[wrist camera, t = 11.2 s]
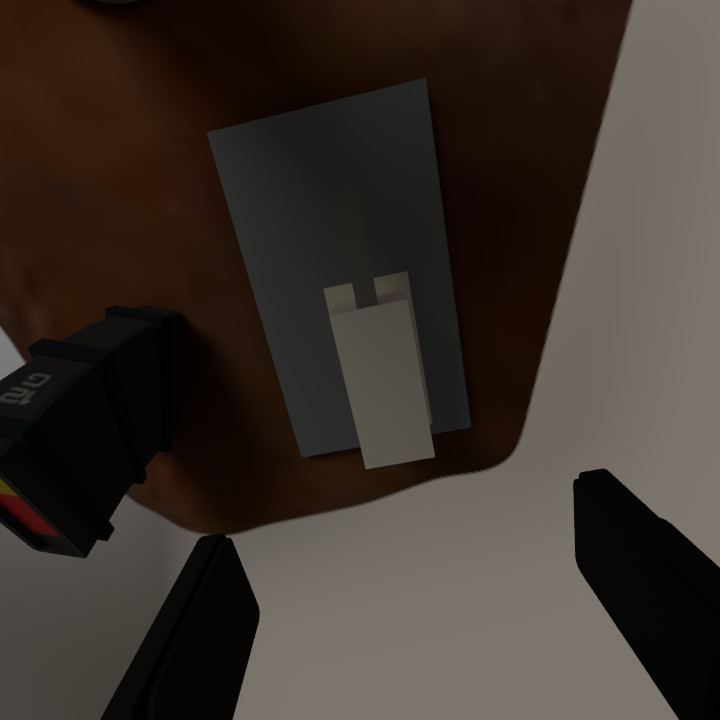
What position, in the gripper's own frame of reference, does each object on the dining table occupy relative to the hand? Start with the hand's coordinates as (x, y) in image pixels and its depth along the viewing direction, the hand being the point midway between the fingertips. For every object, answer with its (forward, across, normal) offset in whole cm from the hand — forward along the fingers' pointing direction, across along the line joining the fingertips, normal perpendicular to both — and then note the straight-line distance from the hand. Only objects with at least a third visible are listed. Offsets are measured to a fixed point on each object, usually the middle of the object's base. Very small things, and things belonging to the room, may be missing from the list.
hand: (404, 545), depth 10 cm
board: (+19, +1, -4) cm, 20 cm away
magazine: (+20, +18, 0) cm, 26 cm away
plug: (+18, 0, -2) cm, 18 cm away
